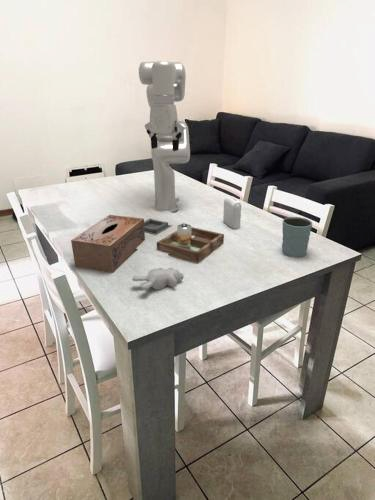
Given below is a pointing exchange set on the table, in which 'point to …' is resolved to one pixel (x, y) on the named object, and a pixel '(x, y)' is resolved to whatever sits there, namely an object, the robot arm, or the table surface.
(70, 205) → the table surface
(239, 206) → the photo printer
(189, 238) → the cell
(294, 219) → the green tapered cup
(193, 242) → the wooden divided tray
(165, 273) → the bunny figurine
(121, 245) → the tissue box cover
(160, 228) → the tester cradle
